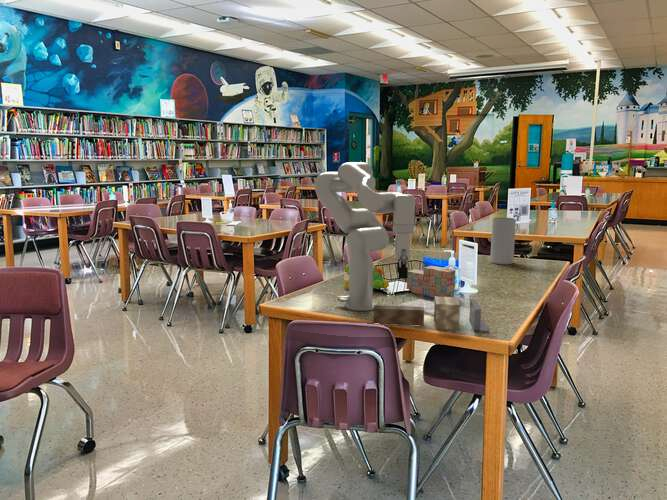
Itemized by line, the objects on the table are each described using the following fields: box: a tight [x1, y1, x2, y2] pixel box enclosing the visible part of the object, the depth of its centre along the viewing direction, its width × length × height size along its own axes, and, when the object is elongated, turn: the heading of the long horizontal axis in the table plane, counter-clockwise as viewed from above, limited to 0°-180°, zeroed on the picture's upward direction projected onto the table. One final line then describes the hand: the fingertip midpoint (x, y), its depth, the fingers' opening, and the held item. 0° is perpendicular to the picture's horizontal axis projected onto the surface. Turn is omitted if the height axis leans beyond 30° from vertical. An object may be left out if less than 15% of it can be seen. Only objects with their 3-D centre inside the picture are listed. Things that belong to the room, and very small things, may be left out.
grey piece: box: [468, 298, 490, 333], centre depth 207 cm, size 5×14×8 cm, turn 174°
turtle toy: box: [344, 262, 390, 290], centre depth 265 cm, size 17×23×12 cm
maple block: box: [433, 296, 461, 331], centre depth 208 cm, size 8×11×9 cm
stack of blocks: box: [406, 265, 456, 298], centre depth 254 cm, size 21×6×12 cm, turn 45°
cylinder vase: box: [490, 216, 517, 266], centre depth 327 cm, size 12×12×25 cm
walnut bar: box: [372, 304, 425, 327], centre depth 211 cm, size 18×5×6 cm, turn 84°
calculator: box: [399, 298, 435, 317], centre depth 230 cm, size 13×20×2 cm, turn 41°
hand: (402, 275), depth 211 cm, fingers open, 9 cm apart
